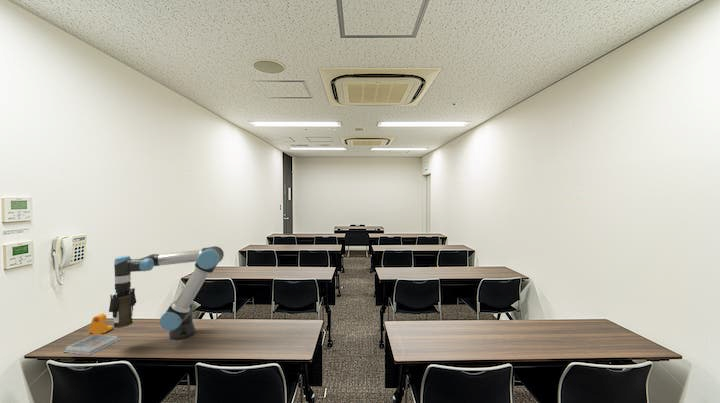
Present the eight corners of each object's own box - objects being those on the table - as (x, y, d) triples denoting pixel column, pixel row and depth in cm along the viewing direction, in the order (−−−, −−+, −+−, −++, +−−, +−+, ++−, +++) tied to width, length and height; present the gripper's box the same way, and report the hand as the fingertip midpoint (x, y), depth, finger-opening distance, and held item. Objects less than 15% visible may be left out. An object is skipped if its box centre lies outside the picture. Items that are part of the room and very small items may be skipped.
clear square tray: (119, 340, 186) (119, 335, 186) (89, 355, 168) (89, 349, 168) (95, 338, 189) (95, 333, 189) (63, 352, 171) (63, 347, 171)
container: (122, 328, 170) (121, 298, 170) (109, 327, 172) (109, 297, 172) (136, 322, 179) (136, 293, 179) (124, 321, 181) (124, 292, 181)
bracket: (113, 329, 202) (113, 312, 202) (104, 334, 195) (104, 316, 195) (97, 329, 202) (97, 312, 202) (88, 334, 194) (88, 316, 194)
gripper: (133, 277, 186) (133, 312, 187) (99, 286, 166) (100, 326, 166) (143, 277, 185) (144, 313, 186) (111, 287, 165) (111, 327, 165)
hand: (123, 319), depth 176 cm, fingers closed on container, 8 cm apart
